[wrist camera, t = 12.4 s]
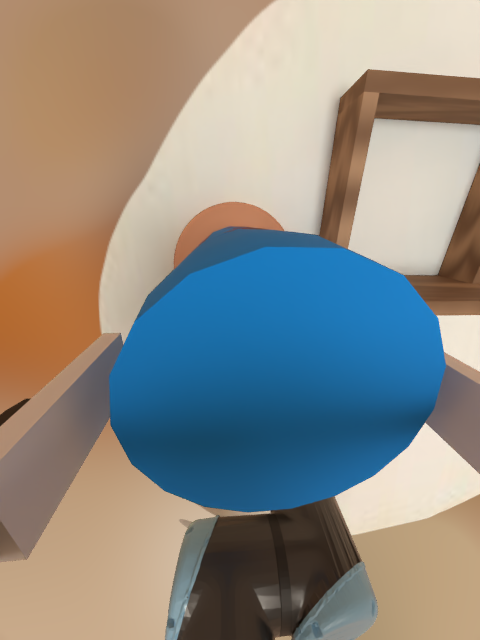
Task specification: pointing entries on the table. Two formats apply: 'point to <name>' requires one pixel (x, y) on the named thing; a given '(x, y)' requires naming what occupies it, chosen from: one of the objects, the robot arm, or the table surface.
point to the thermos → (274, 372)
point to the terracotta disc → (221, 225)
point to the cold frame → (349, 160)
